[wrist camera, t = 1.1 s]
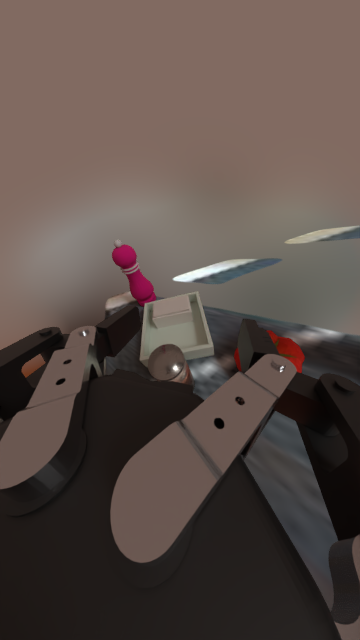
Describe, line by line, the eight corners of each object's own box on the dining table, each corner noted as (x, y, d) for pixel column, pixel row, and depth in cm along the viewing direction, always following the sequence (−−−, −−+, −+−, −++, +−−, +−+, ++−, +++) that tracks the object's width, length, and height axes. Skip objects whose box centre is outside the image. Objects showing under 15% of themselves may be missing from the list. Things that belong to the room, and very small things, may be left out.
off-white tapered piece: (190, 305, 43) (187, 293, 39) (193, 321, 39) (190, 309, 35) (157, 312, 44) (152, 301, 40) (157, 328, 40) (151, 318, 36)
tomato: (225, 361, 32) (226, 346, 27) (263, 335, 34) (270, 317, 29) (263, 404, 26) (273, 396, 21) (306, 369, 28) (326, 354, 23)
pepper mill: (161, 297, 49) (136, 234, 34) (145, 311, 47) (110, 250, 32) (148, 290, 53) (120, 231, 38) (133, 302, 51) (96, 245, 36)
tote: (199, 301, 45) (198, 291, 42) (214, 355, 33) (213, 346, 30) (149, 312, 46) (144, 303, 43) (146, 367, 35) (139, 360, 32)
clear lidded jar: (192, 368, 32) (181, 340, 23) (197, 396, 29) (186, 376, 19) (168, 373, 33) (148, 347, 23) (169, 400, 29) (146, 382, 20)
